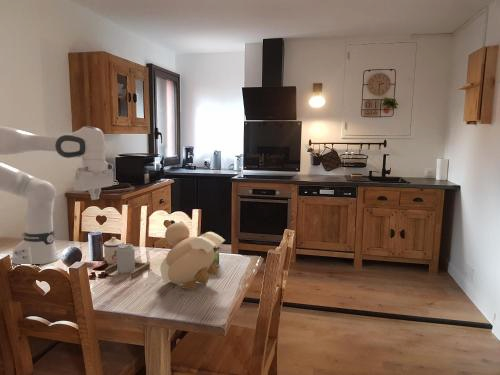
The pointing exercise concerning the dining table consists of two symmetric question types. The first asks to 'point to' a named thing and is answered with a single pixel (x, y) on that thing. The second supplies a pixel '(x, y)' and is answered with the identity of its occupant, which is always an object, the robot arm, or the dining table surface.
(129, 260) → the can
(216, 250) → the coffee can
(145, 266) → the frame
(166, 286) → the dining table surface
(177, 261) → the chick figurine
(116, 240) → the teacup with lid
